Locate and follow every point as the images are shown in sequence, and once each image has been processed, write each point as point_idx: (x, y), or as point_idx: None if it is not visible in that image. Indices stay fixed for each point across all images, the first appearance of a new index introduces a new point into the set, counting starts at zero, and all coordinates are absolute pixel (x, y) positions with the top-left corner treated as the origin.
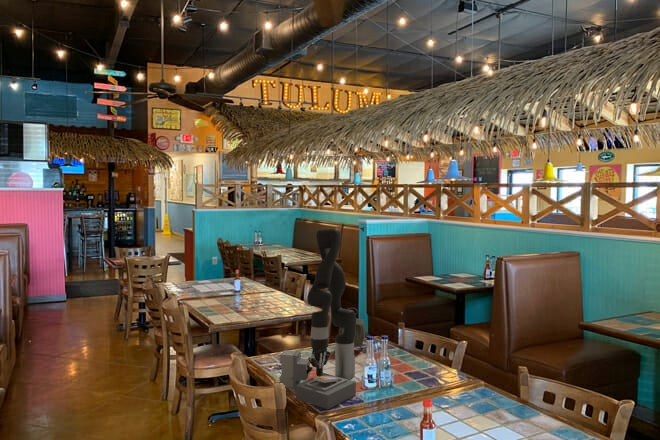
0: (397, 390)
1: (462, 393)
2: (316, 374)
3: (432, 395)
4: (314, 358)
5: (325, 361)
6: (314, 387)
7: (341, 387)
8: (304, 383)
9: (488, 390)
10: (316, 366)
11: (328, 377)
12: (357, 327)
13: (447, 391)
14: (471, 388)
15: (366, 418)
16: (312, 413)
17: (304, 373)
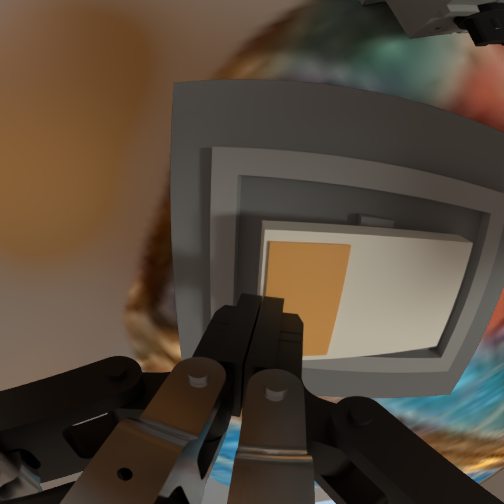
0: (487, 411)
1: (469, 474)
2: (217, 313)
3: (457, 462)
4: (27, 492)
5: (330, 495)
6: (213, 257)
7: (337, 388)
8: (255, 111)
9: (482, 479)
10: (107, 427)
11: (401, 305)
12: None
13: (480, 461)
14: (492, 467)
15: (236, 437)
16: (134, 288)
17: (423, 9)
